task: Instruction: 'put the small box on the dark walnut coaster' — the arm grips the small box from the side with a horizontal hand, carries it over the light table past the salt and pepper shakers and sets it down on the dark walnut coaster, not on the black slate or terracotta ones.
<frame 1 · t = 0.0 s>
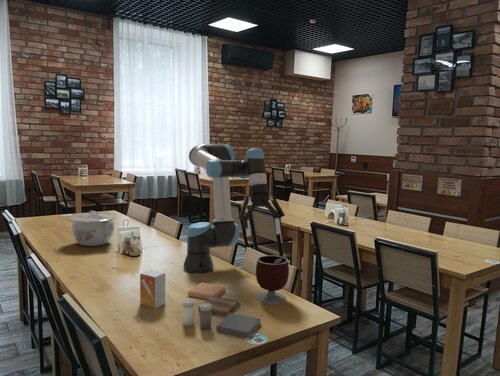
hand: (263, 235, 173), 28 cm above the table, tool tilted 20°, fingers open, 13 cm apart
small box: (152, 304, 170), on the table
pepper shaker: (205, 327, 151), on the table
salt shaker: (188, 323, 153), on the table
terracotta coaster: (206, 293, 183), on the table
mate gourd: (272, 299, 178), on the table
chamber pot: (93, 244, 258), on the table
walnut coaster: (219, 308, 167), on the table
slate coaster: (239, 327, 151), on the table
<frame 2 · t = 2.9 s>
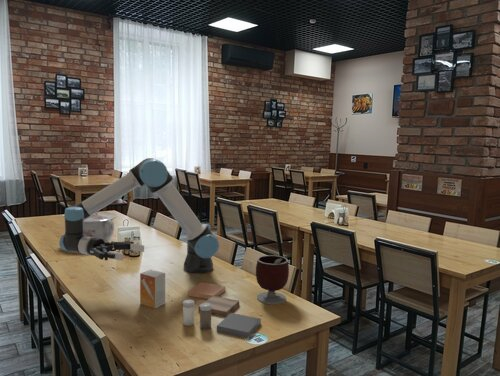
hand: (133, 252, 171), 20 cm above the table, tool horizontal, fingers open, 13 cm apart
nothing on the table moved.
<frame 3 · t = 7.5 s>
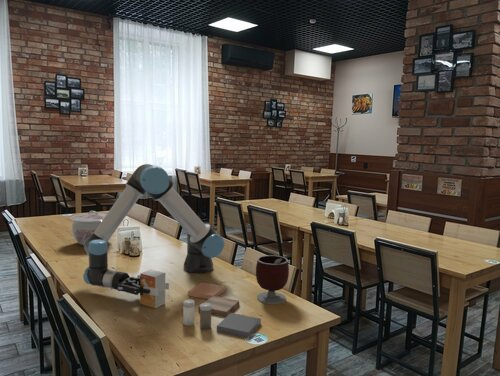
hand: (163, 289, 167), 7 cm above the table, tool horizontal, fingers closed on small box, 7 cm apart
small box: (152, 304, 170), on the table, touching gripper
everything else where it was.
when the fingers open (10 cm above the table, at t = 12.5 s): small box drops 1 cm, resting on walnut coaster.
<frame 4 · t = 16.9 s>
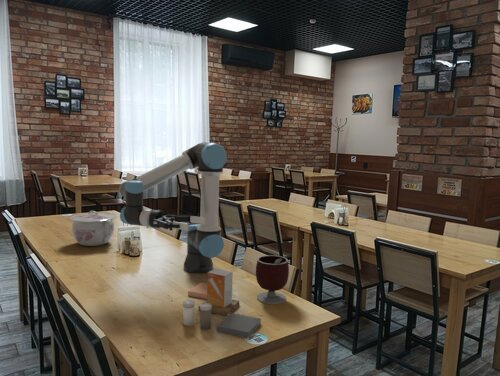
hand: (196, 223, 173), 32 cm above the table, tool horizontal, fingers open, 13 cm apart
small box: (219, 303, 167), point 2 cm above the table, touching walnut coaster
everything else where it was.
at the end: small box inside the target area on the walnut coaster (0.1 cm from its centre), point 1.8 cm above the walnut coaster's base; salt shaker moved 0.1 cm from its start; pepper shaker moved 0.0 cm from its start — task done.
